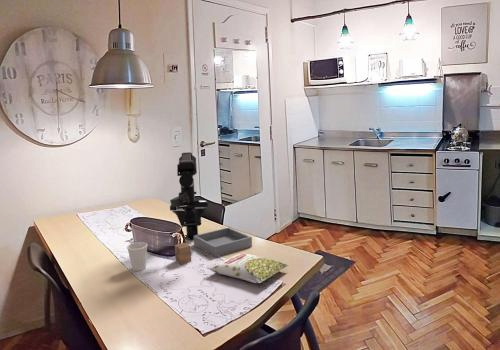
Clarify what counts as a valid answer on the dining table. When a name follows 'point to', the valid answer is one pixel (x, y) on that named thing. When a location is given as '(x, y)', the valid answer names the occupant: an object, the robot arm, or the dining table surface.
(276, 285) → the dining table surface
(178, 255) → the walnut block
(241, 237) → the grey bin
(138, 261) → the dixie cup
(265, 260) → the frozen beans
